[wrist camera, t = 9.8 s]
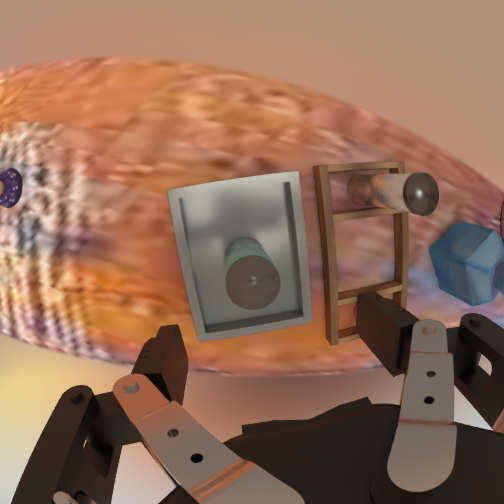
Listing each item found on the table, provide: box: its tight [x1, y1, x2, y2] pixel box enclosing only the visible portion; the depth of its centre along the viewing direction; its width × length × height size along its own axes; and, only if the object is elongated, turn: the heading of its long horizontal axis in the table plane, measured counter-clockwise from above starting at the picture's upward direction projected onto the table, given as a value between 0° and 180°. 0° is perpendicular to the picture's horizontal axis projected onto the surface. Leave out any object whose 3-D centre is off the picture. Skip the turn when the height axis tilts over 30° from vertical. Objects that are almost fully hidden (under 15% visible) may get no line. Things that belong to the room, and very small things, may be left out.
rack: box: [314, 161, 409, 346], centre depth 26 cm, size 9×18×2 cm, turn 8°
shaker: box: [225, 237, 281, 310], centre depth 21 cm, size 4×4×7 cm
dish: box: [167, 171, 312, 342], centre depth 24 cm, size 11×14×2 cm
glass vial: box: [348, 173, 439, 216], centre depth 21 cm, size 3×3×10 cm
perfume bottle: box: [429, 221, 504, 306], centre depth 23 cm, size 6×6×12 cm
